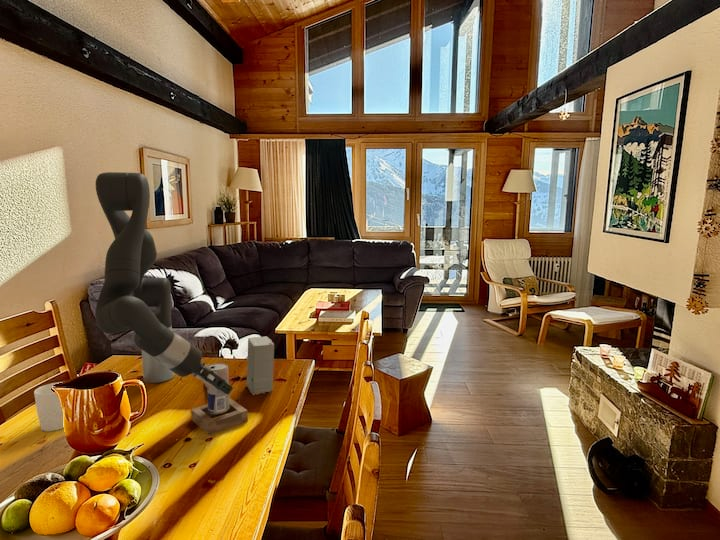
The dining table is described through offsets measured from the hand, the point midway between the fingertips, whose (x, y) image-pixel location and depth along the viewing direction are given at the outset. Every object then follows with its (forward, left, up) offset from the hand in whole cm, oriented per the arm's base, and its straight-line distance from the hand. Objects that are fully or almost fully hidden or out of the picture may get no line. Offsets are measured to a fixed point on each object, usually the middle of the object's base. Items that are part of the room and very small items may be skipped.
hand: (224, 387), depth 112 cm
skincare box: (-10, +17, -9) cm, 22 cm away
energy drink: (0, -2, -6) cm, 6 cm away
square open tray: (0, -2, -9) cm, 9 cm away
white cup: (-26, -33, -9) cm, 43 cm away
